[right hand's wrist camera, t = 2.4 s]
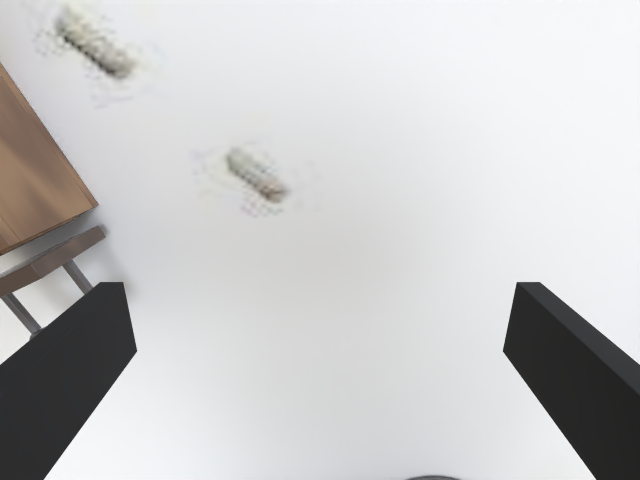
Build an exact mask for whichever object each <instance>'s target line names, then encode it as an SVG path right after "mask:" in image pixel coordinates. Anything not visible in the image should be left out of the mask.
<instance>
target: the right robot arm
mask: <svg viewBox="0 0 640 480" xmlns="http://www.w3.org/2000/svg"><path fill="white" fill-rule="evenodd" d="M136 352H137V348H136V343H135V338H134V333H133V328H132V323H131V319H130V314H129V309H128V304H127V299H126V294H125V289H124V284H123V282H100V283H99V284H97V285H96V286H95V287H94V288H93V289H91V290H90V291H89V292H88V293H87V294H85V295H84V296H83V297H82V298H80V299H79V300H78V301H77V302H76V303H74V304H73V305H72V306H71V307H70V308H68V309H67V310H66V311H65V312H64V313H62V314H61V315H60V316H59V317H58V318H56V319H55V320H54V321H53V322H51V323H50V324H49V325H48V326H47V327H45V328H44V329H43V330H42V331H41V332H39V333H38V334H37V335H36V336H35V337H33V338H32V339H31V340H30V341H29V342H27V343H26V344H25V345H24V346H23V347H21V348H20V349H19V350H18V351H16V352H15V353H14V354H13V355H12V356H10V357H9V358H8V359H7V360H6V361H4V362H3V363H2V364H1V365H0V480H44V478H45V477H46V476H47V474H48V473H49V472H50V470H51V469H52V467H53V466H54V465H55V463H56V462H57V461H58V459H59V458H60V456H61V455H62V454H63V452H64V451H65V450H66V448H67V447H68V445H69V444H70V443H71V441H72V440H73V439H74V437H75V436H76V434H77V433H78V432H79V430H80V429H81V428H82V426H83V425H84V423H85V422H86V421H87V419H88V418H89V417H90V415H91V414H92V412H93V411H94V410H95V408H96V407H97V406H98V404H99V403H100V402H101V400H102V399H103V397H104V396H105V395H106V393H107V392H108V391H109V389H110V388H111V386H112V385H113V384H114V382H115V381H116V380H117V378H118V377H119V375H120V374H121V373H122V371H123V370H124V369H125V367H126V366H127V364H128V363H129V362H130V360H131V359H132V358H133V356H134V355H135V353H136ZM503 352H504V353H505V355H506V356H507V358H508V359H509V360H510V362H511V363H512V364H513V366H514V367H515V369H516V370H517V371H518V373H519V374H520V375H521V377H522V378H523V380H524V381H525V382H526V384H527V385H528V386H529V388H530V389H531V391H532V392H533V393H534V395H535V396H536V397H537V399H538V400H539V402H540V403H541V404H542V406H543V407H544V408H545V410H546V411H547V412H548V414H549V415H550V417H551V418H552V419H553V421H554V422H555V423H556V425H557V426H558V428H559V429H560V430H561V432H562V433H563V434H564V436H565V437H566V439H567V440H568V441H569V443H570V444H571V445H572V447H573V448H574V450H575V451H576V452H577V454H578V455H579V456H580V458H581V459H582V461H583V462H584V463H585V465H586V466H587V467H588V469H589V470H590V472H591V473H592V474H593V476H594V477H595V478H596V480H640V365H639V364H638V363H637V362H636V361H634V360H633V359H632V358H631V357H630V356H628V355H627V354H626V353H625V352H624V351H622V350H621V349H620V348H619V347H617V346H616V345H615V344H614V343H613V342H611V341H610V340H609V339H608V338H607V337H605V336H604V335H603V334H602V333H601V332H599V331H598V330H597V329H596V328H595V327H593V326H592V325H591V324H590V323H589V322H587V321H586V320H585V319H584V318H582V317H581V316H580V315H579V314H578V313H576V312H575V311H574V310H573V309H572V308H570V307H569V306H568V305H567V304H566V303H564V302H563V301H562V300H561V299H560V298H558V297H557V296H556V295H555V294H553V293H552V292H551V291H550V290H549V289H547V288H546V287H545V286H544V285H543V284H541V283H540V282H517V284H516V289H515V294H514V299H513V304H512V309H511V314H510V319H509V323H508V328H507V333H506V338H505V343H504V348H503ZM414 480H454V479H449V478H441V477H428V478H420V479H414Z"/></svg>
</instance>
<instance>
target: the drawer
mask: <svg viewBox="0 0 640 480" xmlns="http://www.w3.org/2000/svg"><path fill="white" fill-rule="evenodd" d="M78 217H79V216H78V215H77V216H75V217H73V218H71V219H69V220H66V221H64V222H62V223H60V224H58V225H56V226H54V227H52V228H50V229H47V230H45V231H43V232H41V233H39V234H37V235H35V236H33V237H31V238H28V239H26V240H24V241H22V242H20V243H18V244H16V245H14V246H12V247H10V248H8V249H6V250H4V251H2V252H0V256H2V255H4V254H6V253H8V252H10V251H12V250H14V249H16V248H18V247H20V246H22V245H24V244H26V243H28V242H30V241H32V240H34V239H36V238H38V237H40V236H42V235H44V234H46V233H48V232H50V231H52V230H54V229H56V228H58V227H60V226H62V225H64V224H66V223H68V222H70V221H72V220H74V219H76V218H78ZM104 238H105V235H104V234H103V232H102V231H101V230H100V228H99V227H98V226H96V227H94V228H92V229H90V230H88V231H86V232H84V233H82V234H80V235H78V236H76V237H74V238H71V239H69V240H67V241H65V242H63V243H61V244H59V245H57V246H55V247H53V248H51V249H49V250H47V251H45V252H43V253H41V254H39V255H37V256H35V257H33V258H31V259H29V260H27V261H25V262H23V263H21V264H19V265H16V266H15V267H13V268H11V269H9V270H7V271H5V272H4V273H2V274H0V298H1V299H2V300H3V301H4V302H5V303H6V305H7V306H8V307H9V308H10V309H11V310H12V312H13V313H14V314H15V315H16V316H17V317H18V319H19V320H20V321H21V322H22V323H23V324H24V325H25V327H26V328H27V329H28V330H29V331H30V332H31V336H30V340H31V339H32V338H33V337H35V336H36V335H37V334H38V333H39V332H41V331H42V330H43V329H44V328H45V327H44V328H42V329H41V327H40V325H39V324H38V323H37V322H36V321H35V320H34V318H33V317H32V316H31V315H30V314H29V312H28V311H27V310H26V309H25V308H24V307H23V305H22V304H21V303H20V302H19V301H18V299H17V298H16V297H15V296H14V295H13V294H12V292H14V291H16V290H18V289H20V288H22V287H25V286H27V285H29V284H31V283H33V282H35V281H37V280H39V279H41V278H43V277H45V276H46V275H48V274H49V273H51V272H52V271H54V270H55V269H57V268H59V267H60V266H63V267H64V269H65V270H66V271H67V272H68V274H69V275H70V276H71V278H72V279H73V280H74V281H75V283H76V284H77V285H78V287H79V288H80V289H81V291H82V292H83V293H84V294H87V293H88V292H89V291H90V290H91V289H93V287H92V285H91V284H90V283H89V281H88V280H87V279H86V278H85V276H84V275H83V274H82V272H81V271H80V270H79V268H78V267H77V266H76V264H75V263H74V262H73V260H72V259H73V258H74V257H76V256H77V255H79V254H80V253H82V252H84V251H85V250H87V249H88V248H90V247H91V246H93V245H95V244H96V243H98V242H99V241H101V240H102V239H104ZM46 327H47V326H46Z"/></svg>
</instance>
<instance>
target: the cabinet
mask: <svg viewBox="0 0 640 480" xmlns="http://www.w3.org/2000/svg"><path fill="white" fill-rule="evenodd" d="M96 206H98V203H97V202H96V200H95V199H94V198H93V196H92V195H91V193H90V192H89V190H88V189H87V187H86V186H85V185H84V183H83V182H82V180H81V179H80V177H79V176H78V174H77V173H76V172H75V170H74V169H73V167H72V166H71V164H70V163H69V161H68V160H67V159H66V157H65V156H64V154H63V153H62V151H61V150H60V148H59V147H58V146H57V144H56V143H55V141H54V140H53V138H52V137H51V135H50V134H49V133H48V131H47V130H46V128H45V127H44V125H43V124H42V122H41V121H40V120H39V118H38V117H37V115H36V114H35V112H34V111H33V109H32V108H31V107H30V105H29V104H28V102H27V101H26V99H25V98H24V96H23V95H22V94H21V92H20V91H19V89H18V88H17V86H16V85H15V84H14V82H13V81H12V79H11V78H10V76H9V75H8V73H7V72H6V71H5V69H4V68H3V66H2V65H1V63H0V252H2V251H4V250H6V249H8V248H10V247H12V246H14V245H16V244H18V243H20V242H22V241H24V240H26V239H28V238H31V237H33V236H35V235H37V234H39V233H41V232H43V231H45V230H47V229H50V228H52V227H54V226H56V225H58V224H60V223H62V222H64V221H66V220H69V219H71V218H73V217H75V216H77V215H80V214H82V213H84V212H86V211H88V210H90V209H92V208H94V207H96Z"/></svg>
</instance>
